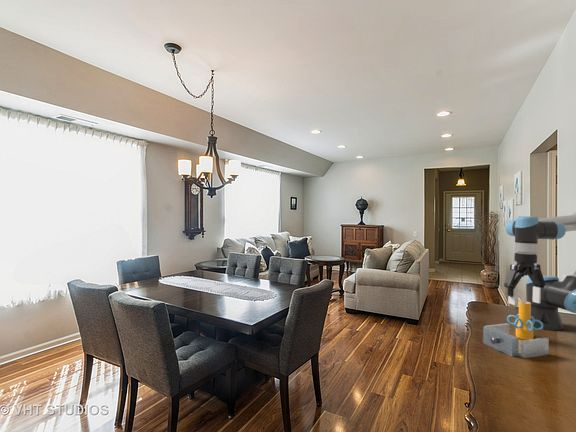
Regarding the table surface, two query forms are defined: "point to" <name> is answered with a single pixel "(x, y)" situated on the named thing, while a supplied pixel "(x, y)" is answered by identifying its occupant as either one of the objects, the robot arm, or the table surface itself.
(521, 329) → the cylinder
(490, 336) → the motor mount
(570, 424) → the table surface
